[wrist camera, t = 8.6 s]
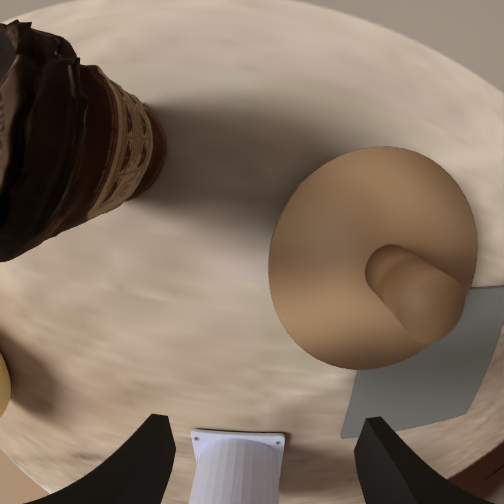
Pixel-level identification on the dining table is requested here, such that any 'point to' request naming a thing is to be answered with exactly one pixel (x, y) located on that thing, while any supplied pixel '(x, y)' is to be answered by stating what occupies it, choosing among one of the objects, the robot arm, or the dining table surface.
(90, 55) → the dining table surface
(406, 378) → the plate
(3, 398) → the sculpture
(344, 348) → the lid
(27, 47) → the coffee cup
